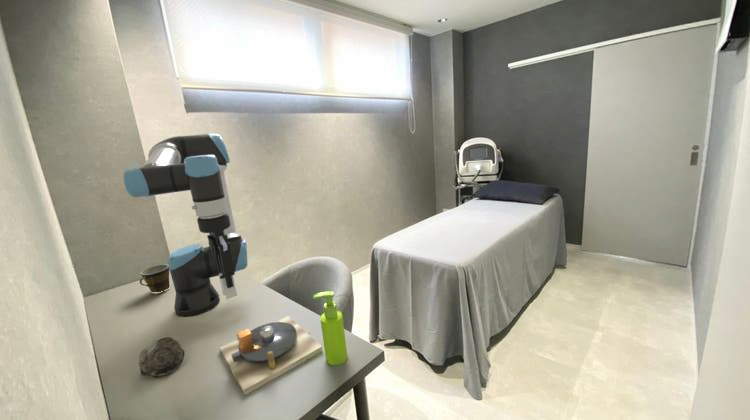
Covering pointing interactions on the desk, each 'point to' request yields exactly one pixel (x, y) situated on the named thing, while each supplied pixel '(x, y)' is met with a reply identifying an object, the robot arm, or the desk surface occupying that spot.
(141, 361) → the fossil
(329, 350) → the soap dispenser
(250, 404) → the desk surface
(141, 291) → the desk surface
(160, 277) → the ceramic cup
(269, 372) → the post base
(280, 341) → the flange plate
